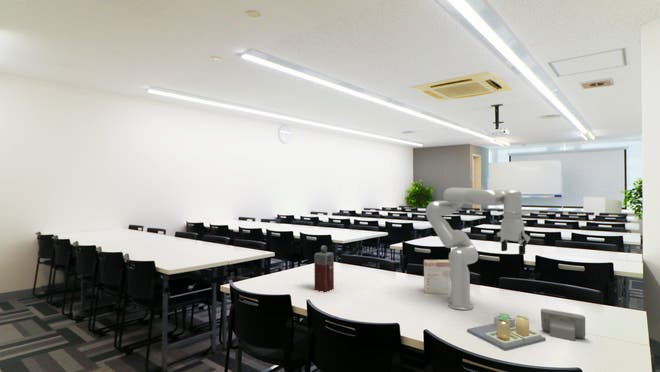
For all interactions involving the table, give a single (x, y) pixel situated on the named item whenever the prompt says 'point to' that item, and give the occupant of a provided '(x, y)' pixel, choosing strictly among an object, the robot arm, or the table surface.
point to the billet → (503, 329)
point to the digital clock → (563, 324)
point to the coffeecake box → (437, 277)
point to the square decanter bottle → (324, 270)
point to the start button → (504, 316)
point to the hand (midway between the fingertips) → (512, 252)
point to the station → (518, 333)
